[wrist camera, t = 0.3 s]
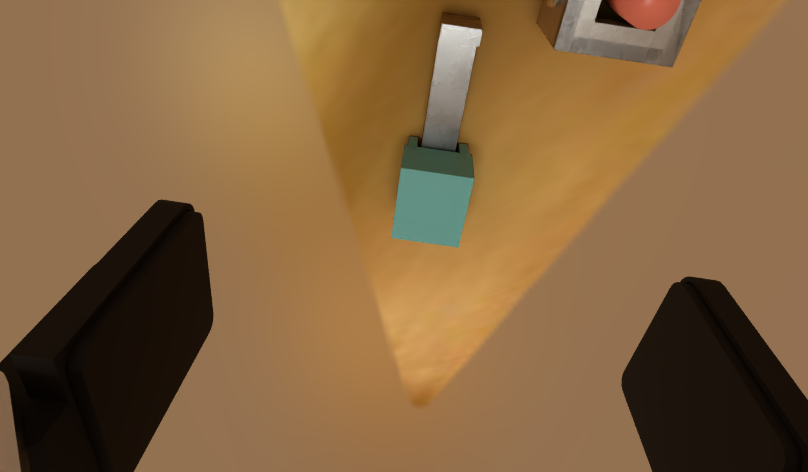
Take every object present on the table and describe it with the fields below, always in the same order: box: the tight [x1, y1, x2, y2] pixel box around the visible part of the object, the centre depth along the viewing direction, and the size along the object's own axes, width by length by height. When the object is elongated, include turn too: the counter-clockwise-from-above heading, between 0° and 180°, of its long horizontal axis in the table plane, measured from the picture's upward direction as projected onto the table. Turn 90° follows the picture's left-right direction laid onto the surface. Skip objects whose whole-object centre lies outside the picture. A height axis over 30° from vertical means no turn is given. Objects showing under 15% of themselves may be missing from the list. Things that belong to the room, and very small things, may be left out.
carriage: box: [391, 136, 474, 247], centre depth 45 cm, size 7×6×6 cm
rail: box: [421, 13, 483, 152], centre depth 44 cm, size 19×3×4 cm, turn 173°
